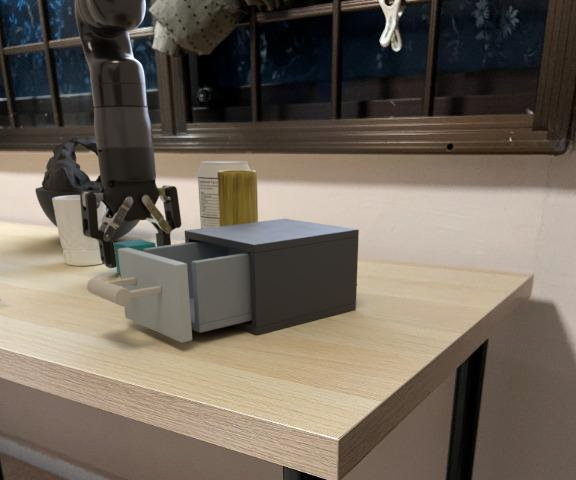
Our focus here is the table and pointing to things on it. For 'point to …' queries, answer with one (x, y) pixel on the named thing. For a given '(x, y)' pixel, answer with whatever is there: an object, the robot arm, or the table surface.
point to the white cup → (76, 231)
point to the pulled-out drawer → (181, 287)
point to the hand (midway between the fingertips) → (137, 263)
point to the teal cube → (131, 244)
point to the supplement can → (213, 189)
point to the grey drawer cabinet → (292, 269)
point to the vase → (237, 197)
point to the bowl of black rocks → (71, 180)
